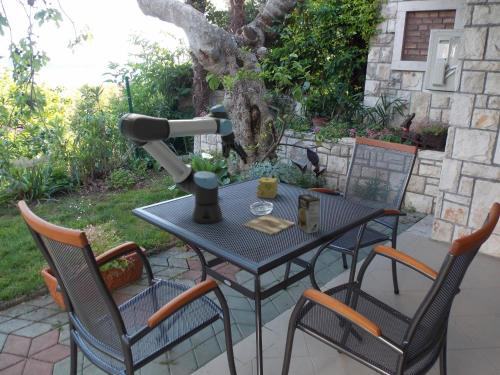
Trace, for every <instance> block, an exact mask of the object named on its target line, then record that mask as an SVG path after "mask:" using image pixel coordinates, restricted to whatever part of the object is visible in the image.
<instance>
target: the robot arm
mask: <svg viewBox="0 0 500 375" xmlns="http://www.w3.org/2000/svg"><path fill="white" fill-rule="evenodd" d="M117 125H118V126H117V128H118V132H119V133H120V136H122V137H124V138H125V139H128V140H129V141H131V143H133V144H134V145H135V146H136V147H137V148H143V149H144V150H145V151H146V152H147V153H148V154H149V155H150V156H152V158H153V159H154V160H155V161H156V162H157V163H158V164H159V165H161V166H162V167H163V169H165V171H167V172H168V173H169V174H170V175H171V176H172V180H173V182H174V184H175V186H176V188H178V189H179V190H180V191H181V192H183V193H188V194H189V195H192V196H194V201H195V202H194V209H193V213H192V219H191V220H192V221H193V222H194V223H196V224H202V225H208V224H215V223H219V222H221V221H222V220H223V212H222V210H221V207H220V202H219V179H218V178H219V177H218V175H217V174H215V172H211V171H207V170H200V171H197V170H196V169H194V167H193V166H191V165H190V164H189V163H188V164H187V163H184V162H183V161H182V159H181V158H180V157H178V155H177V154H176V153H175V152H173V150H172V149H170V147H168V145H167V144H166V143H165V142H164V141H166V140H169V138H177V137H178V138H179V137H195V136H207V135H219V136H220V139H221V141H220V144H221V151H222V152H221V153H222V158H225V159H226V163H227V165H228V167H229V169H230V170H232V169H233V168H235V166H234V162H233V160H232V157H231V155H230V154H231V150H232V151H233V152H235V153H236V154H237V156H238V157H240V158H241V159H240V162H241V164H242V167H243V169H244V171H248V170H249V169H250V167H249V163H248V160H247V158H248V157H249V155H248V153H247V152H246V151H245V149H244V148H243V146H242V145H241V143H240V141H239V140H237V141H236V140H235V139H236V135H235V132H234V131H233V128H234V127H233V123H232V121H231V119H229V115H228V112H227V110H226V107H225V105H224V104H216V105H214V106H212V107H211V108H210V113H209V114H207V115H204V116H203V117H200V118H198V119H168V118H165V117H156V116H155V117H154V116H150V115H145V114H139V113H135V112H129V113H126V114H124V115H122V116H121V117H120V119H119V121H118V124H117ZM163 140H164V141H163Z"/></svg>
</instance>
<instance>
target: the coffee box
mask: <svg viewBox="0 0 500 375" xmlns="http://www.w3.org/2000/svg"><path fill="white" fill-rule="evenodd" d="M297 197H298V198H297V199H298V202H297V204H298V206H297V228H298V229H300V230H301V231H303V232H304V233H306V234H313V233H318V232H319V224H320V223H319V221H320V209H321V208H320V206H321V199H320V198H318V197H316V196H315V195H312V194H311V193H307V194H304V193H303V194H299V195H298V196H297ZM317 231H318V232H317Z"/></svg>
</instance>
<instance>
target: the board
mask: <svg viewBox="0 0 500 375" xmlns="http://www.w3.org/2000/svg"><path fill="white" fill-rule="evenodd" d="M295 225H296V222H293V221H290V220H287V219H284V218H281V217H280V218H279V217H276V216H274V215H273V216H272V215H270V214H264V215H262V216H260V217H257V218H254V219H252V220H250V221H247V222H244V223H242V226H243V227H246V228H249V229H252V230H254V231H258V232H260V233H263V234H267V235H269V236H274V235H276V234H279V233H280V232H283V231H285V230H287V229H289V228H291V227H293V226H295Z"/></svg>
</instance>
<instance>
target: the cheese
mask: <svg viewBox="0 0 500 375" xmlns="http://www.w3.org/2000/svg"><path fill="white" fill-rule="evenodd" d="M256 187H257V188H256V189H257V192H256V197H257V198H263V199H264V198H265V199H274V198H275V197H276V195H277V194H278V178H277V177H264V176H263V177H260V178H259V179H258V184H257V186H256Z"/></svg>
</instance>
